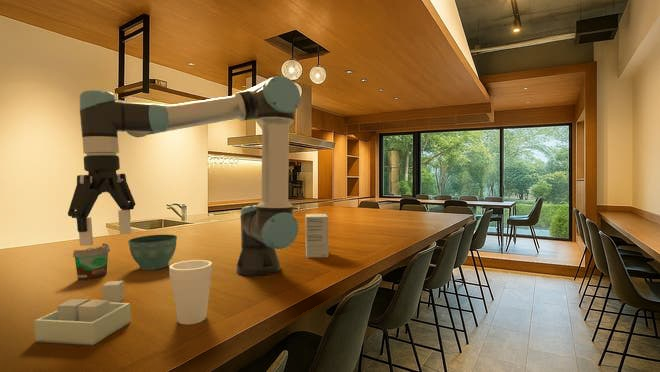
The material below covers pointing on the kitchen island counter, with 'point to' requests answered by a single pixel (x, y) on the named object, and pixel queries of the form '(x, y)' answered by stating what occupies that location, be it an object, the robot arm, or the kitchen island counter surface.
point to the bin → (81, 327)
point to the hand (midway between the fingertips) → (107, 239)
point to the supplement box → (316, 235)
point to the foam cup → (191, 289)
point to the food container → (91, 262)
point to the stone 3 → (113, 291)
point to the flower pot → (153, 250)
